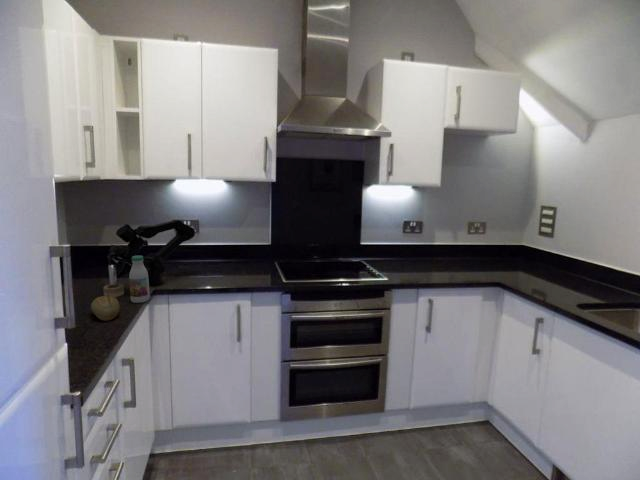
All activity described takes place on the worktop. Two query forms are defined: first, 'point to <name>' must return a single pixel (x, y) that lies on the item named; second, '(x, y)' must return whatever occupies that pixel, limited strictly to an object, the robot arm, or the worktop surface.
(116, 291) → the tan tape roll
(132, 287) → the milk bottle
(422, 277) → the worktop surface
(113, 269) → the steel peg
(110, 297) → the bread roll
